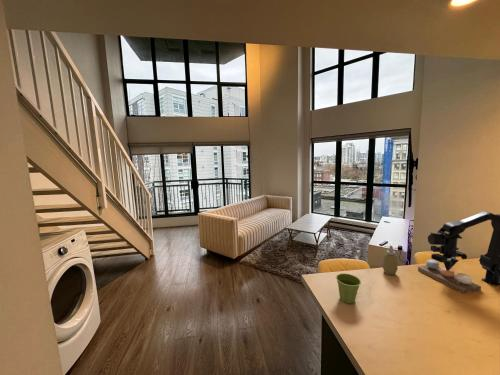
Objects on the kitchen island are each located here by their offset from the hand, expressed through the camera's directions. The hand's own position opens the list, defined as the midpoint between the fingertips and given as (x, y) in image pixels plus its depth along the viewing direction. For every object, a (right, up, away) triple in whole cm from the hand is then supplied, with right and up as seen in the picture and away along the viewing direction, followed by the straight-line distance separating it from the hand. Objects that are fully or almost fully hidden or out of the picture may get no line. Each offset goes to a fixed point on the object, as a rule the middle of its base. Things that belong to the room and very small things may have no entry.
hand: (447, 270), depth 125 cm
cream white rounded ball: (+2, -6, -8) cm, 10 cm away
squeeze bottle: (-28, -6, +10) cm, 30 cm away
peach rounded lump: (0, -6, +1) cm, 6 cm away
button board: (0, -6, +1) cm, 6 cm away
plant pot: (-66, -10, -15) cm, 68 cm away
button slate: (-2, -4, +9) cm, 10 cm away
